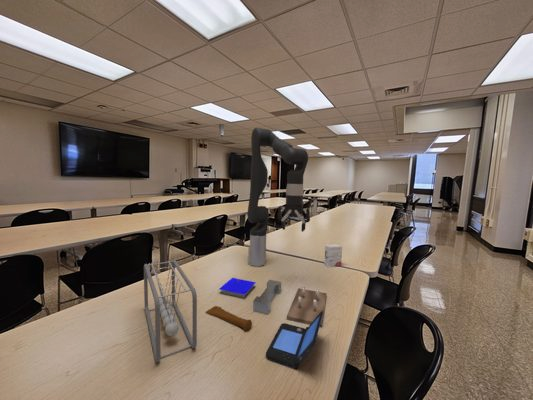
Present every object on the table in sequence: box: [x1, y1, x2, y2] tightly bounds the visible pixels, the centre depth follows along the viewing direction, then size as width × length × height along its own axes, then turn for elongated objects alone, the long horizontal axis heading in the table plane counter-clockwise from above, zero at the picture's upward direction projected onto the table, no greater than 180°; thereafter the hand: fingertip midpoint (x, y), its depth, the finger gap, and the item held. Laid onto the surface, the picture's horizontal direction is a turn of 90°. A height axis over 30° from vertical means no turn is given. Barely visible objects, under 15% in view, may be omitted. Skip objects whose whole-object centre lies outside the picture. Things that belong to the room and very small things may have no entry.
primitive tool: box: [205, 305, 253, 332], centre depth 80 cm, size 19×6×4 cm, turn 57°
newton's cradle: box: [143, 258, 198, 363], centre depth 73 cm, size 30×10×18 cm, turn 33°
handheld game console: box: [265, 311, 324, 370], centre depth 67 cm, size 16×13×9 cm
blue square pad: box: [218, 277, 257, 299], centre depth 100 cm, size 12×12×5 cm
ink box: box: [323, 243, 343, 267], centre depth 132 cm, size 9×5×12 cm, turn 103°
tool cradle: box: [286, 286, 327, 328], centre depth 88 cm, size 12×22×5 cm, turn 161°
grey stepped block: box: [252, 279, 282, 315], centre depth 93 cm, size 6×19×4 cm, turn 161°
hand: (293, 230), depth 103 cm, fingers open, 8 cm apart
